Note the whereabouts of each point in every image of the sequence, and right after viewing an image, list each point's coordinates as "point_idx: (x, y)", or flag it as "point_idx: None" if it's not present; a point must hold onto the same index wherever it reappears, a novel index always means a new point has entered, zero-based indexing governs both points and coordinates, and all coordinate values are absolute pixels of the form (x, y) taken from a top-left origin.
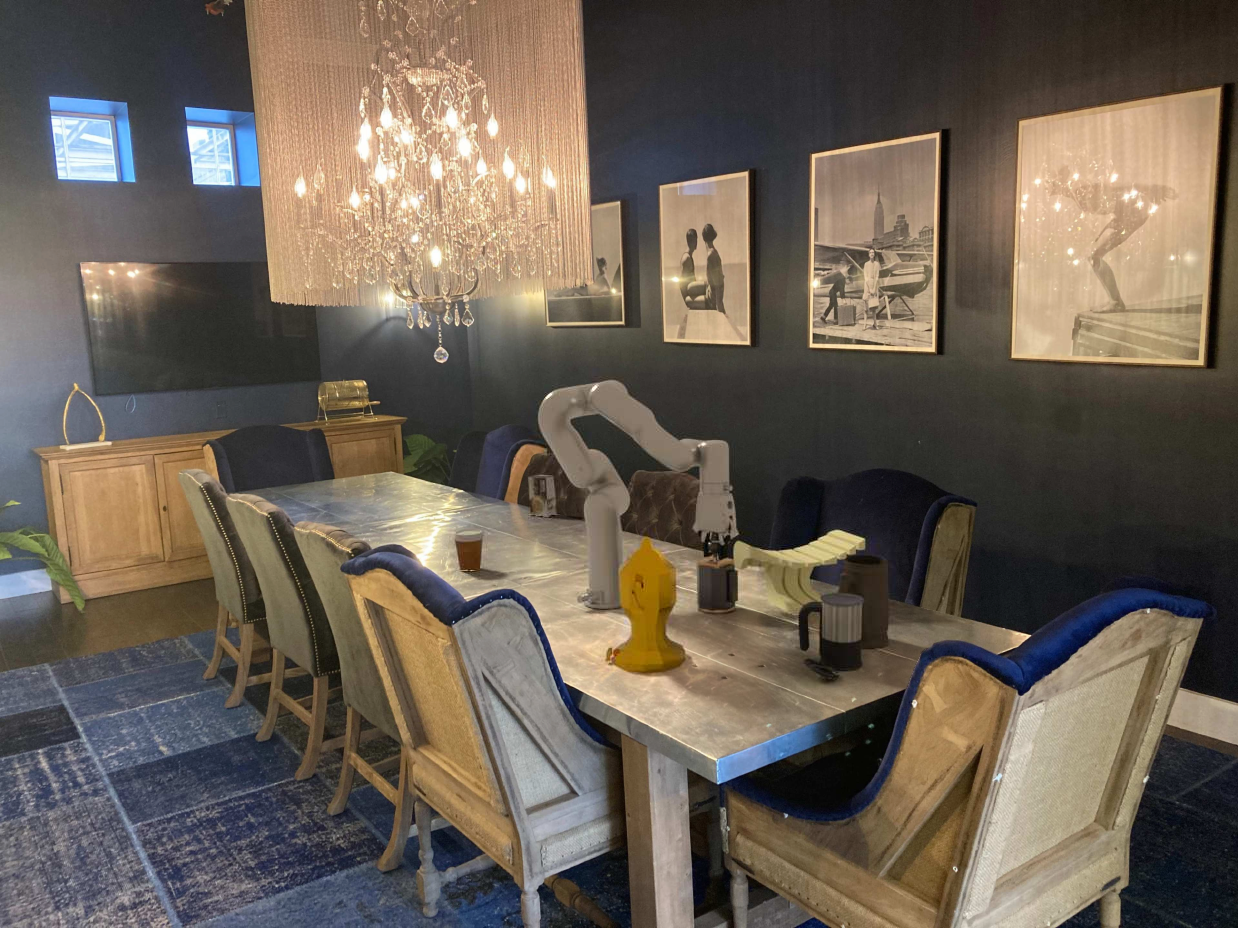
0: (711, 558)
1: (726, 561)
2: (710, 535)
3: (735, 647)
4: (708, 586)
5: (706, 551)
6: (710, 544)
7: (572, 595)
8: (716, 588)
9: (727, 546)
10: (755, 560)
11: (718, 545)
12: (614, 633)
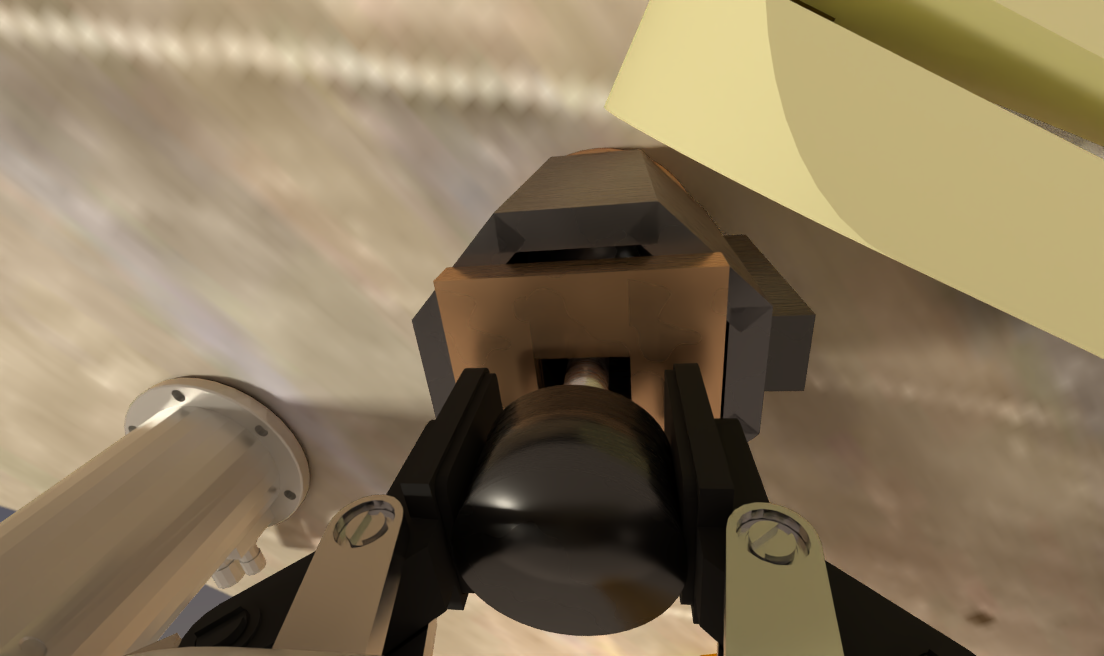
0: (495, 359)
1: (701, 369)
2: (394, 589)
3: (963, 569)
4: None
5: None
6: (571, 622)
7: (75, 452)
8: None
9: (765, 497)
10: (1032, 117)
11: (693, 614)
12: (525, 631)
